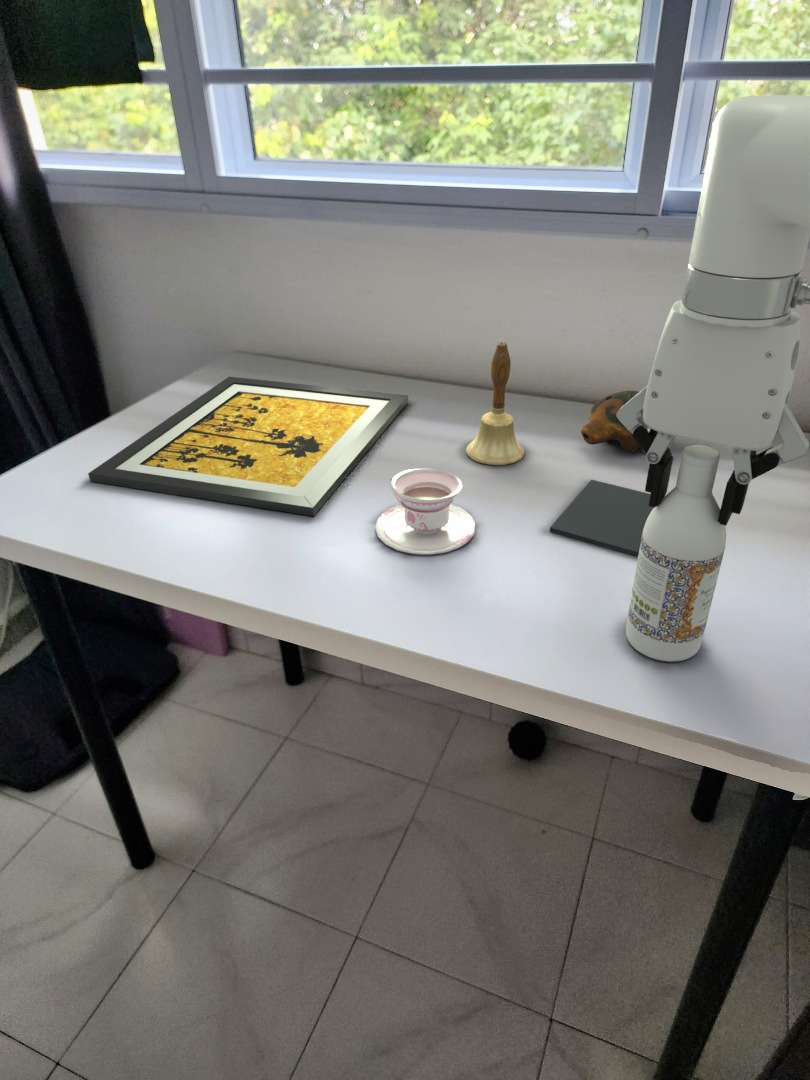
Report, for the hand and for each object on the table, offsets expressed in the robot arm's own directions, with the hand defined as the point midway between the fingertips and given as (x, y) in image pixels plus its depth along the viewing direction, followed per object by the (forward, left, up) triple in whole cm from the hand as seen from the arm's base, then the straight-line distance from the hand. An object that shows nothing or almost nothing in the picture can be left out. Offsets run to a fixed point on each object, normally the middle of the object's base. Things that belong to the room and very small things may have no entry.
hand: (691, 507), depth 64 cm
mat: (+10, -20, -15) cm, 27 cm away
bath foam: (0, 0, -15) cm, 15 cm away
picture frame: (+64, -16, -15) cm, 68 cm away
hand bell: (+32, -29, -15) cm, 46 cm away
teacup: (+30, -6, -15) cm, 34 cm away
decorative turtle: (+17, -41, -15) cm, 47 cm away
